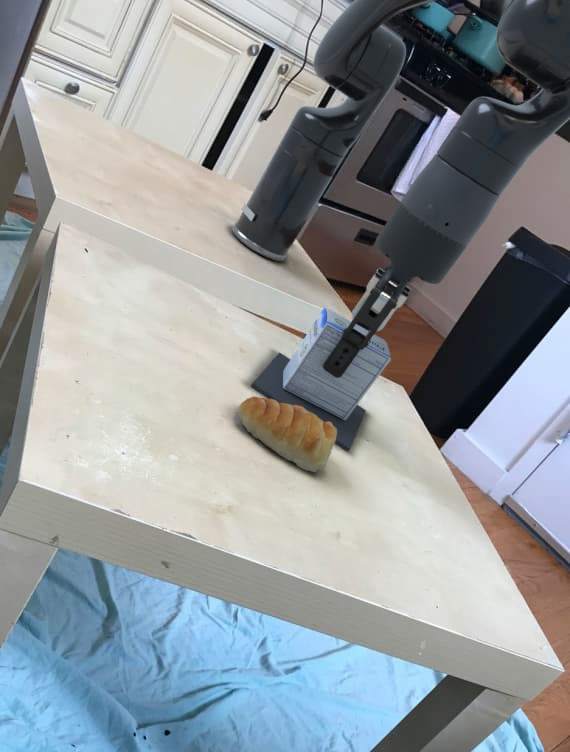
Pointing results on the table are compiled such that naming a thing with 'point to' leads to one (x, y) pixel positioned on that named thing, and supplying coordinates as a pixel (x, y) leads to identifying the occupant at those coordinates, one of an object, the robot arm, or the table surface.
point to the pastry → (289, 431)
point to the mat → (306, 402)
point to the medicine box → (321, 386)
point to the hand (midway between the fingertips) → (335, 364)
